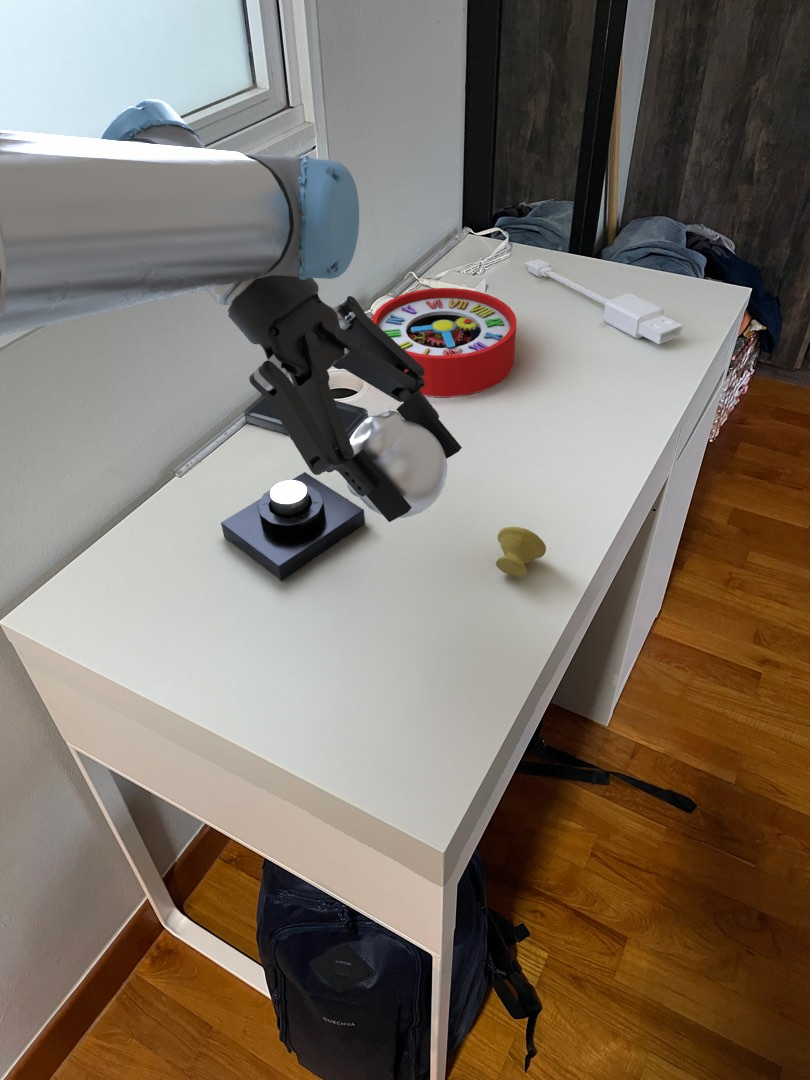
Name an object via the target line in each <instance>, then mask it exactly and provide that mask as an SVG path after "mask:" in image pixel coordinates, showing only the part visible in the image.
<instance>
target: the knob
mask: <svg viewBox="0 0 810 1080" xmlns="http://www.w3.org/2000/svg"><path fill="white" fill-rule="evenodd" d="M497 541H498V543H499V545H500V548H501V550H502V552H503V555H504V556H501V557H499V558H498V559H497V560H496V561H495V565H496V567H497V568H498V569H499V571H501V572H503V573H504V574H506V575H507V576H511V577H516V578H523V577H525V576H527V574H528V570H527V567H526V565H525V564H528V563H530V562H533V561H535V560H537V559H541V558H542V557H543V556H545V554H546V552H547V546H546V544H545V542H544V541H543V539H542V538H541V537H540V536H539V535H538V534H536V533H534V532H533V531H531V530H530V529H527V528H524V527H522V526H521V527H520V526H507V527H506V526H505V527H503V528H500V530H499V531H498V533H497Z"/></svg>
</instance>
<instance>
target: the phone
mask: <svg viewBox="0 0 810 1080" xmlns="http://www.w3.org/2000/svg"><path fill="white" fill-rule="evenodd" d="M301 398H302V397H301ZM302 400H303V398H302ZM303 401H304V400H303ZM335 403H336V406H337V408H338V411H339V414H340V416H341V419H342V422H343V424H344V427H345V430H346V432H347V435H348V437H349V439H350V438H351V436H352V434H353V433H354V431H355V430H356V429H357V428H358V427H359V426H360V424H361V423H363V421H364V420H366V419H367V418H369V412H368V410H367V409H366V408H364V407H361V406H357V405H355V404H354V405H353V404H350V403H346V402H342V401H338V400H335ZM243 414H244V419H245V422H246V423H249V424H252V425H256V426H259V427H263V428H266V429H269V430H271V431H276V432H280V433H283V434H286V435H289V434H288V433H287V431H286V429H285V428H284V426H283V424H282V423H281V421H280V419H279V418H278V416H277V414H276V413H275V411H274V410H273V408H272V406H271V405H270V403H269V401H268V400H267V399H266V398H265V397H264V396H263V395H262V394H261V395H259V396H258V398H256V399H255V400H254V401H253V402H252V403H250V405H248V406H247V407H246V408H245V409H244V410H243Z"/></svg>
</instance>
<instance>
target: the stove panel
mask: <svg viewBox="0 0 810 1080" xmlns="http://www.w3.org/2000/svg"><path fill="white" fill-rule="evenodd" d="M291 480H295V481H299V482H302V483H303V484H305V485H306V487H307V490H308V497H309V503H310V506H309V509H308V510H307V512H305V513H304V514H302V515H300V516H296V517H291V518H285V517H279V516H277V515H276V514H275V513H274V512H273V510H272V504H271V499H270V491H271V489H269V490H268V491H266V492H264V493H263V495H262V497H261V498H259V499H258V500H256V501H255V502H253V503H251V504H250V505H248V506H246V507H245V508H243V509H241V510H239V511H238V512H236V513H234V514H232V515H231V516H229V517H228V518H227V519H225V520H223V521H221V522H220V525H221V529H222V534H223V538H225V539H226V540H227V541H228V542H229V543H231V544H232V545H234V546H235V547H236V548H237V549H238V550H240V551H242V552H243V553H244V554H245V555H246V556H248V557H249V558H250V559H252V560H253V561H254V562H256V563H257V564H259V566H261V567H262V568H263V569H265V570H266V571H267V572H268V573H270V574H271V575H273V576H274V577H276V578H277V579H278V580H279V581H281V582H283V581H285V580H286V579H287V578H289V577H290V576H292V575H293V574H295V573H297V571H299V570H300V569H302V568H304V567H305V566H307V565H308V564H309V563H311V562H312V561H314V560H315V559H317V558H318V557H319V556H321V555H323V554H324V553H325V552H327V551H328V550H330V549H332V548H333V547H334V546H336V545H337V544H339V543H340V542H342V541H343V540H345V539H346V538H348V537H349V536H351V535H352V534H353V533H354V532H357V531H358V530H359V529H361V528H362V527H364V526H365V525H366V518H365V509H364V508H362V507H361V506H359V505H357V504H356V503H354V502H353V501H351V500H350V499H348V498H347V497H344V496H343V495H342V494H340V493H339V492H337V491H336V490H334V489H332V488H331V487H329V486H327V485H325V484H324V483H323V482H322V481H320V480H318V479H316V478H315V477H313V476H312V475H311V474H309V473H307V472H302V473H300V474H298V475H297V476H296V477H294V478H293V479H291Z"/></svg>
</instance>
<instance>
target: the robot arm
mask: <svg viewBox="0 0 810 1080" xmlns="http://www.w3.org/2000/svg"><path fill="white" fill-rule="evenodd" d="M359 228H360V202H359V194H358V190H357V185H356V181H355V179H354V178H353V175H352V173H351V171H350V170H349V169H348V168H347V167H346V166H345V165H344V164H343V163H341V162H339V161H336V160H329V159H320V158H313V157H309V156H308V155H300V156H289V155H288V156H287V155H286V156H285V155H273V154H261V153H260V154H259V153H251V152H250V153H249V152H238V151H231V150H229V151H228V150H219V149H217V150H216V149H209V148H207V147H206V146H205V144H204V143H203V142H202V139H201V138H200V135H199V134H198V133H197V132H196V131H195V130H194V129H193V128H192V126H190V125H188V124H187V123H186V122H185V121H184V120H183V118H182V117H181V116H180V115H179V114H178V112H176V111H175V110H174V109H173V108H172V107H171V106H170V105H169V104H168V103H167V102H165V101H163V100H160V99H156V98H148V99H143V100H141V101H139V102H138V103H137V104H135V105H134V106H133V105H130V106H129V107H127V108H126V109H124V110H123V111H122V112H120V113H119V114H118V115H117V116H116V117H115V118H114V119H112V121H111V122H109V123H108V125H107V126H106V127H105V129H104V130H103V131H102V133H101V135H100V137H99V138H90V137H79V136H65V135H56V134H45V133H35V132H27V131H26V132H24V131H16V130H15V131H14V130H3V129H0V337H2V336H6V335H11V334H15V333H21V332H23V331H28V330H33V329H37V328H41V327H45V326H50V325H55V324H59V323H64V322H68V321H69V322H70V321H73V320H76V319H81V318H86V317H90V316H94V315H100V314H104V313H108V312H113V311H117V310H121V309H125V308H130V307H135V306H139V305H143V304H148V303H151V302H152V303H153V302H157V301H161V300H166V299H170V298H175V297H180V296H183V295H188V294H192V293H197V292H201V291H205V290H206V292H207V293H208V294H209V295H210V296H211V298H213V300H214V301H215V302H216V303H217V305H220V306H226V305H228V306H229V307H228V309H227V313H228V315H227V317H228V318H229V319H230V320H231V321H232V322H233V324H234V326H236V327H237V328H238V329H239V331H240V332H241V333H242V334H243V335H244V336H245V338H247V340H248V341H249V342H250V343H251V344H253V345H259V346H261V348H262V350H263V351H264V354H265V357H266V359H267V360H265V361H263V362H262V363H261V365H259V366H258V367H257V368H256V369H255V370H254V371H253V372H252V373H251V374H250V375H249V378H248V380H249V383H250V384H251V386H252V387H254V389H256V390H257V391H258V392H259V394H261V395H263V396H264V397H265V398H266V399H267V400H268V401H269V403H270V405H271V406H272V408H273V410H274V411H275V413H276V414H277V416H278V418H279V419H280V421H281V423H282V424H283V426H284V428H285V429H286V431H287V433H288V434H287V435H288V436H289V437H290V439H291V441H292V442H293V444H294V446H295V447H296V449H297V451H298V452H299V454H300V456H301V458H302V459H303V460H304V462H305V464H306V466H307V467H308V469H309V471H310V472H311V473H312V474H313V475H315V476H320V475H321V474H323V473H325V472H327V473H332V472H334V471H336V472H338V473H339V475H341V477H342V478H343V479H344V480H345V482H346V481H347V482H348V483H349V485H350V486H351V487H352V488H353V489H354V490H355V492H356V493H357V494H358V495H360V496H362V497H364V496H365V495H366V496H367V497H368V498H369V500H370V501H371V502H372V503H373V504H374V505H375V507H376V508H377V509H378V510H379V511H380V512H381V513H382V516H383V517H384V518H385V519H386V520H387V522H388V523H391V522H393V521H394V520H397V519H399V518H398V517H400V516H402V515H404V514H406V513H408V511H409V510H410V509H411V508H412V507H411V506H410V505H409V503H408V502H407V501H406V500H405V499H404V497H403V496H402V495H401V494H400V493H399V492H398V490H397V489H396V488H395V487H394V486H393V485H392V483H391V482H390V481H389V480H388V479H387V477H386V476H385V475H384V474H383V473H382V472H381V470H380V469H379V468H378V467H377V466H376V464H375V463H374V462H373V461H372V460H371V459H370V457H369V456H368V455H367V454H366V453H365V452H364V450H363V449H362V450H361V451H359V452H358V453H356V454H355V455H354V451H353V448H352V445H351V443H350V440H349V437H348V435H347V432H346V430H345V427H344V424H343V422H342V419H341V416H340V414H339V411H338V408H337V406H336V403H335V401H336V400H335V398H334V396H333V393H332V390H331V387H330V385H329V382H330V374H329V370H330V369H331V368H332V367H333V368H335V369H337V370H345V371H347V372H348V373H350V374H352V375H353V376H355V377H357V378H359V379H360V380H362V381H364V382H365V383H367V384H368V385H369V386H372V387H374V388H375V389H377V390H379V391H380V392H382V393H384V394H385V395H387V396H389V397H390V398H392V399H394V400H395V401H398V402H399V403H401V404H400V405H398V407H397V408H396V410H395V411H396V412H398V413H399V414H400V415H401V417H402V418H403V419H404V420H406V421H409V422H413V423H416V424H418V425H420V426H422V427H424V428H426V429H427V430H428V431H430V432H431V433H432V434H433V435H434V436H435V437H436V438H437V440H438V441H439V443H440V444H441V446H442V448H443V450H444V453H445V456H446V460H448V459H449V458H451V457H452V456H454V455H456V454H458V453H459V452H460V451H461V449H462V448H463V447H462V446H461V444H460V443H459V442H458V441H457V439H456V438H455V437H454V436H453V434H452V433H451V432H450V431H449V430H448V429H447V427H446V426H445V425H444V423H442V421H441V420H440V419H439V418H440V415H439V413H438V411H437V410H436V409H435V407H434V406H433V405H432V404H431V402H429V400H428V399H427V397H426V396H424V395H423V394H422V393H421V391H420V389H421V388H423V387H424V386H425V381H424V379H423V378H422V376H423V375H424V373H425V371H424V368H423V367H422V366H421V365H420V364H419V363H418V362H417V361H416V360H414V359H413V358H412V357H411V356H410V355H409V354H408V353H407V352H406V351H405V350H404V349H402V348H401V347H400V346H399V345H398V344H397V343H396V342H395V341H394V340H393V339H392V338H391V337H389V336H388V335H387V334H386V333H385V332H384V331H383V330H382V329H381V328H380V327H379V326H377V325H376V324H375V323H374V322H373V321H372V318H370V317H369V316H368V315H367V313H366V312H365V311H364V309H363V308H362V306H361V305H360V303H359V302H358V300H357V299H356V298H355V297H354V296H351V295H348V296H347V297H346V298H344V300H343V301H342V302H340V303H339V304H338V305H336V306H334V307H332V306H330V305H328V304H327V303H325V302H324V301H323V300H322V299H321V298H320V296H319V284H318V283H317V281H316V280H315V279H326V280H327V279H328V280H329V279H330V280H331V279H332V280H333V279H336V278H339V277H341V276H342V275H343V274H344V273H345V272H346V271H347V269H348V268H349V267H350V265H351V263H352V261H353V258H354V255H355V253H356V249H357V244H358V237H359ZM405 369H407V370H408V371H407V372H405ZM287 373H288V374H289V376H290V378H289V377H288V376H287ZM301 397H302V398H303V400H304V401H303V400H302V398H301Z"/></svg>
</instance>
